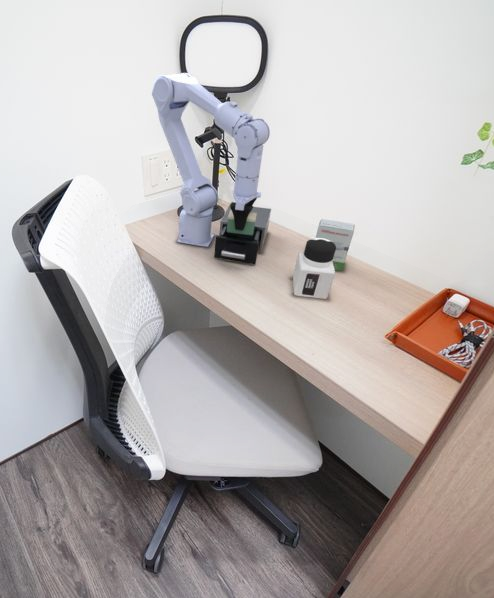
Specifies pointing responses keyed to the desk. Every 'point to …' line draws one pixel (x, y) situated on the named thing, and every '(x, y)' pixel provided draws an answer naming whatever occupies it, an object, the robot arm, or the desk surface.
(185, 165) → the robot arm
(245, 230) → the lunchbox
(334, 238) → the ink box
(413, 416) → the desk surface
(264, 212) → the small drawer cabinet
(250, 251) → the drawer
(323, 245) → the container
